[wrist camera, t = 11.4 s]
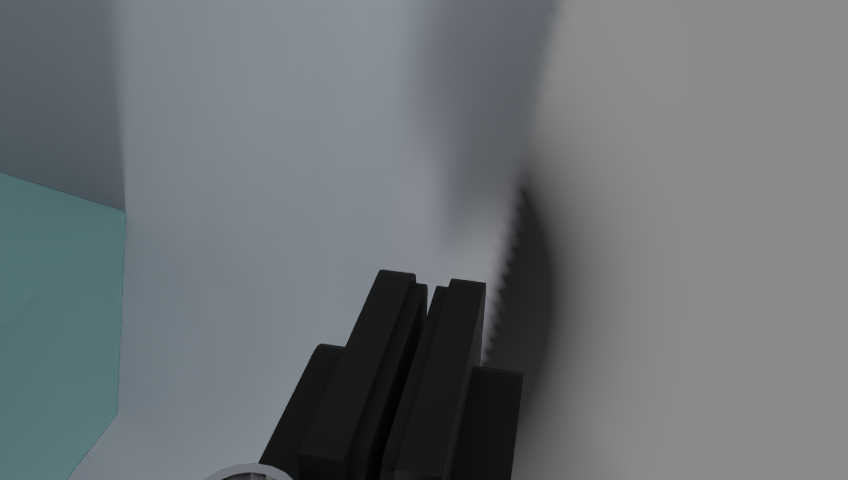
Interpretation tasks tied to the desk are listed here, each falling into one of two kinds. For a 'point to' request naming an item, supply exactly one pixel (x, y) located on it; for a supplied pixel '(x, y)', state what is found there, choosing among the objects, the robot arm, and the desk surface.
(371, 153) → the desk surface
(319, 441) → the robot arm
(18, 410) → the mint green box
